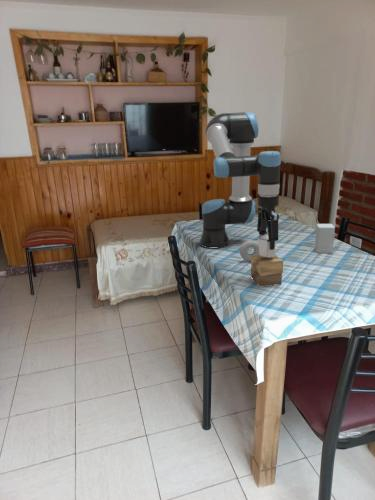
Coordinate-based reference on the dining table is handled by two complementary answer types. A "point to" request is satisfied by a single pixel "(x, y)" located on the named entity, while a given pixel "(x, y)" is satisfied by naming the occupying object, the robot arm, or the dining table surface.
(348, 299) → the dining table surface
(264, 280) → the walnut block
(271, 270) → the oak block
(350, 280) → the dining table surface
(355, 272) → the dining table surface
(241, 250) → the donut
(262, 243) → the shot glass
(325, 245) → the supplement box
